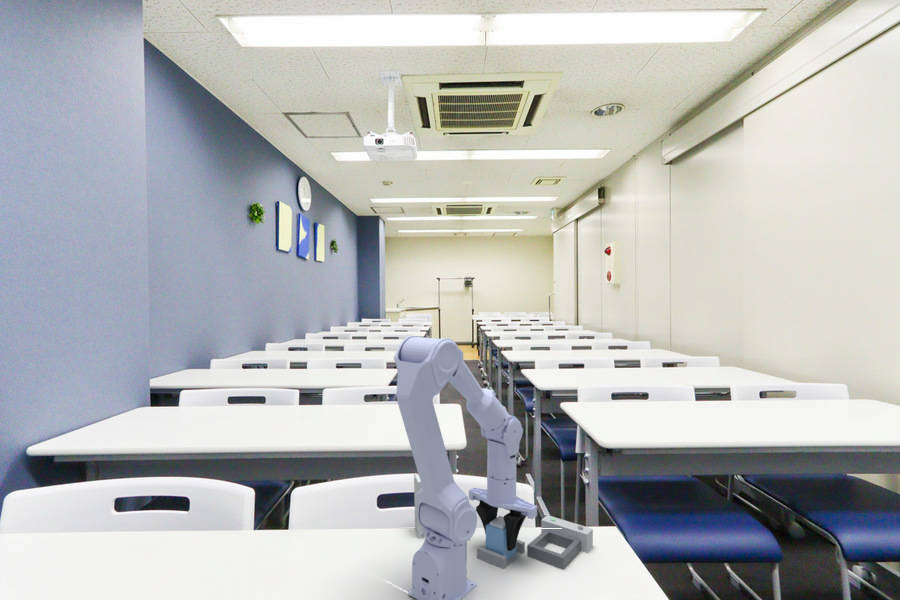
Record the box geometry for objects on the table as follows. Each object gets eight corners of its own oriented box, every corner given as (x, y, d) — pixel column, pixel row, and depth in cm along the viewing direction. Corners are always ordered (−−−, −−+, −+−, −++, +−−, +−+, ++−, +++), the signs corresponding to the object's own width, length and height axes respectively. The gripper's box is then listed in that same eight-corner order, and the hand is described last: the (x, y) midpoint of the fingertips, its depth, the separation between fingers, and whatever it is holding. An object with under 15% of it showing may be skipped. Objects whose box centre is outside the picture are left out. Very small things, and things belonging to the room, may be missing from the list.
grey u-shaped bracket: (503, 571, 85) (503, 559, 85) (477, 560, 88) (477, 548, 89) (524, 553, 91) (524, 542, 91) (498, 543, 95) (498, 532, 95)
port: (569, 574, 84) (569, 550, 84) (521, 555, 90) (521, 533, 90) (592, 548, 93) (592, 527, 93) (547, 533, 99) (547, 513, 99)
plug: (503, 563, 87) (503, 528, 87) (485, 556, 89) (485, 522, 89) (516, 552, 91) (516, 519, 91) (499, 546, 93) (499, 513, 93)
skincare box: (438, 538, 97) (438, 480, 97) (417, 540, 96) (417, 482, 96) (432, 525, 103) (433, 470, 103) (413, 527, 102) (413, 472, 102)
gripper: (544, 477, 89) (544, 548, 89) (482, 462, 98) (481, 526, 97) (527, 488, 83) (526, 564, 83) (462, 471, 92) (462, 539, 92)
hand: (501, 544), depth 90 cm, fingers closed on plug, 4 cm apart
